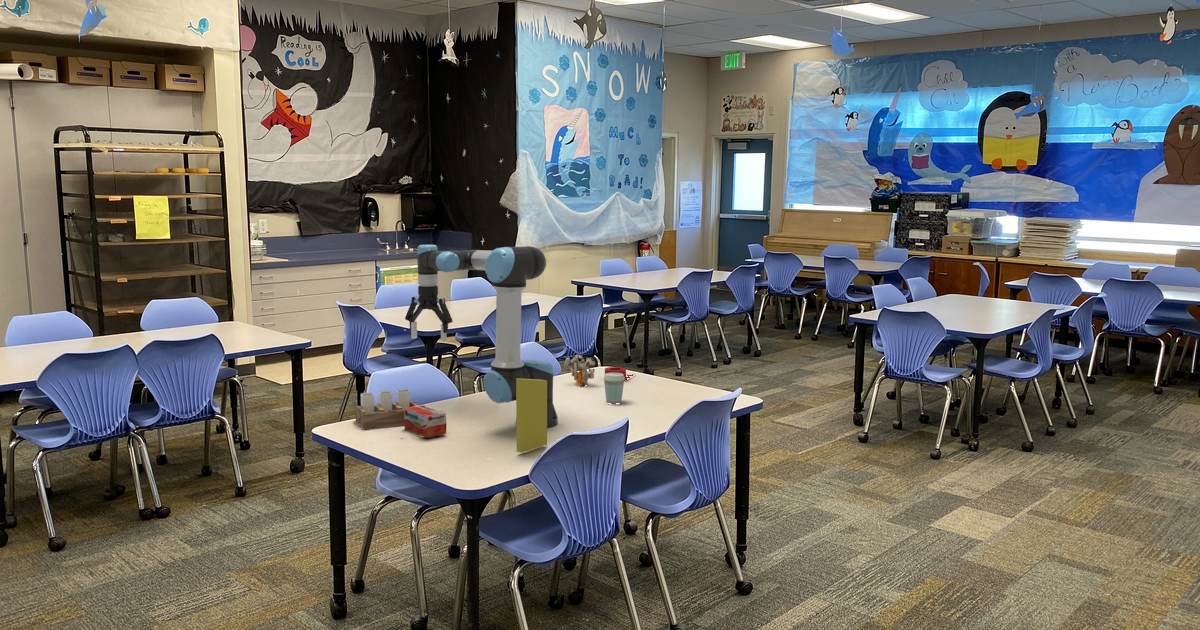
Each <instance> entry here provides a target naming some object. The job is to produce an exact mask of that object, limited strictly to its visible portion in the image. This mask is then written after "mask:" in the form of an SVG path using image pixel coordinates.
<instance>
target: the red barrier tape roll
mask: <svg viewBox="0 0 1200 630" xmlns="http://www.w3.org/2000/svg"><path fill="white" fill-rule="evenodd" d="M606 373H622V374H624V377H625V380H627V378H630V377H629V376H633V375H635V373H631V374H632V375H628V374H629V373H628V374H627V369H626V368H625V367H622V366H621V367H620V366H610V367H609V366H608V367H605V368H604V375H605V374H606ZM626 375H627V376H628V377H626ZM625 380H624V381H625ZM627 381H628V380H627ZM625 382H626V381H625Z"/></svg>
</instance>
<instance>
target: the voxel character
mask: <svg viewBox="0 0 1200 630" xmlns="http://www.w3.org/2000/svg"><path fill="white" fill-rule="evenodd" d="M579 359H580V360H579ZM585 360H586V361H585ZM570 363H572V364H573V365H571V367H570V371H571V376H572V377H573V380H574V381H576V386H577V385H578V386H582V387H583V385H587V386H588V381H589V379H592V380H593V379H594V378H595V368H592V369H591V368H589V365H590V366H595V365H596V362H595V361H594V360H593V361H592V358H586V359H585V357H583V355H581V354H576V355H574V357H573V358H572V359H571V358H570V357H565V361H564V363H563V367H562V369H563V370H565V369H567V368H568V366H569V364H570Z"/></svg>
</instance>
